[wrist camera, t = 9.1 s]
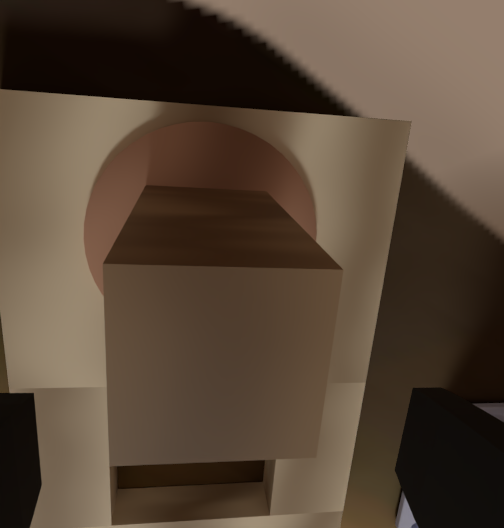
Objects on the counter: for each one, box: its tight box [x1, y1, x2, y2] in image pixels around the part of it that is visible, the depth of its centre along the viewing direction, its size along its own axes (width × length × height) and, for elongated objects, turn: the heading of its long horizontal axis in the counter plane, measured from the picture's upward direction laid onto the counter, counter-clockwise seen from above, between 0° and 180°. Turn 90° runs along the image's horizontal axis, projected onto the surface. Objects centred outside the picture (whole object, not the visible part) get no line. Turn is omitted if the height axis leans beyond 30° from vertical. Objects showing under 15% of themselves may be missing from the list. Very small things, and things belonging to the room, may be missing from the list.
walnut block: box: [103, 185, 344, 466], centre depth 12 cm, size 4×4×8 cm
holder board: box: [0, 89, 411, 528], centre depth 18 cm, size 14×19×2 cm
